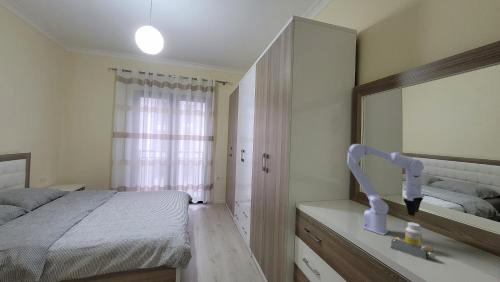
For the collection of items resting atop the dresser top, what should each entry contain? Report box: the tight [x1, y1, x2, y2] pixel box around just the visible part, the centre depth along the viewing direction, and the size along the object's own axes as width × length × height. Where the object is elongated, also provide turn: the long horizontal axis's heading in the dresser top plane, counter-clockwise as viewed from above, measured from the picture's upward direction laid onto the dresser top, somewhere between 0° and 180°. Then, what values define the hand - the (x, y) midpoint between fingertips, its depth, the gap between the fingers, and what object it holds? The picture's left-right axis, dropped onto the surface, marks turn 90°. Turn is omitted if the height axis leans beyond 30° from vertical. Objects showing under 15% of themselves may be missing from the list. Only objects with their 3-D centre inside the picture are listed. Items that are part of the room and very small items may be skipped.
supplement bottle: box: [404, 221, 423, 247], centre depth 89 cm, size 5×5×10 cm
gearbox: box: [390, 237, 436, 260], centre depth 83 cm, size 13×4×3 cm, turn 43°
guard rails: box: [395, 236, 434, 252], centre depth 88 cm, size 12×8×1 cm, turn 43°
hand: (413, 213), depth 100 cm, fingers open, 7 cm apart
